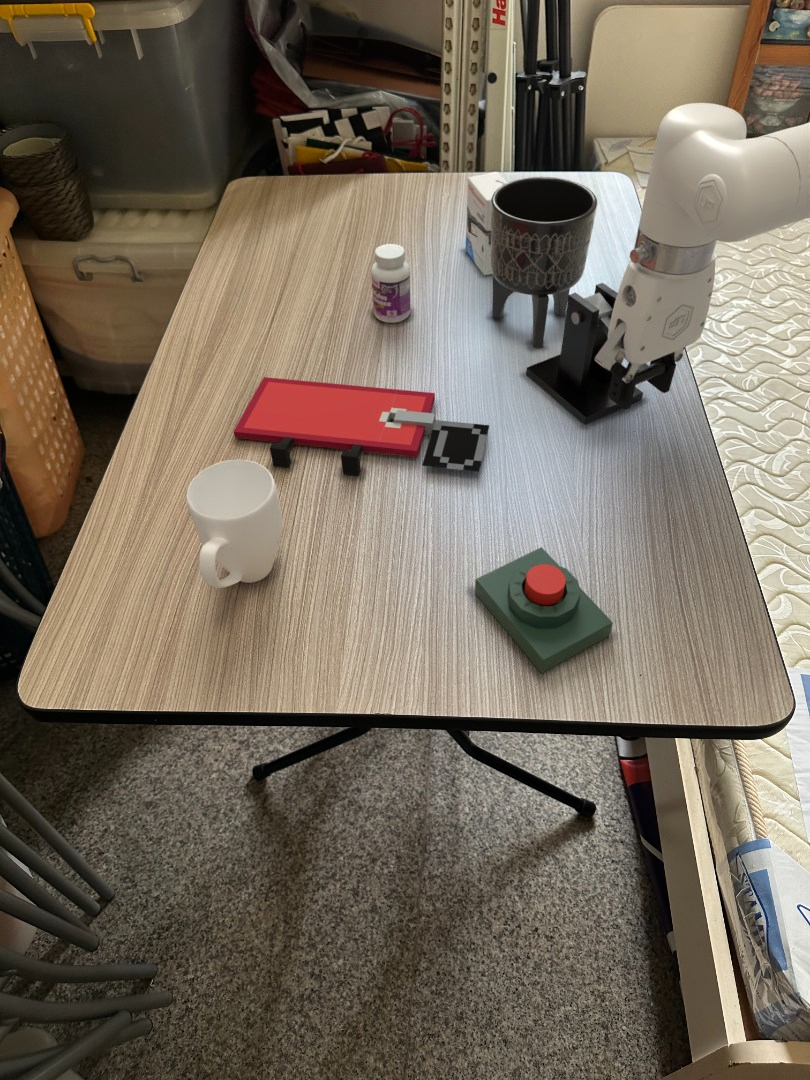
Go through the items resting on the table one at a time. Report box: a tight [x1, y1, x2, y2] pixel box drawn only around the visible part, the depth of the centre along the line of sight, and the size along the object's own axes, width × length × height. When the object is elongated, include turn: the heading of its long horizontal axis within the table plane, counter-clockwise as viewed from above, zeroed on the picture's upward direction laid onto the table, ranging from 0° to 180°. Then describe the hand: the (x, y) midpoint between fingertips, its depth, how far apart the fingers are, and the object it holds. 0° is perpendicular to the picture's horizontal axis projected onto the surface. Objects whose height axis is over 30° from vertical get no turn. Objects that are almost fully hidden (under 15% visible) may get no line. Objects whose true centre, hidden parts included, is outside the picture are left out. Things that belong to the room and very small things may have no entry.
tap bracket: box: [525, 282, 644, 426], centre depth 95 cm, size 12×9×13 cm
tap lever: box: [584, 293, 667, 386], centre depth 90 cm, size 12×5×2 cm, turn 30°
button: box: [525, 564, 566, 606], centre depth 73 cm, size 4×4×2 cm
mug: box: [186, 459, 283, 589], centre depth 76 cm, size 12×8×11 cm
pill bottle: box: [370, 243, 411, 324], centre depth 109 cm, size 5×5×10 cm
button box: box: [474, 547, 614, 674], centre depth 75 cm, size 11×8×4 cm
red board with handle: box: [233, 376, 490, 477], centre depth 94 cm, size 30×3×15 cm
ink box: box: [465, 171, 509, 276], centre depth 117 cm, size 8×5×12 cm, turn 17°
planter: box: [491, 176, 598, 349], centre depth 103 cm, size 13×13×18 cm
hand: (638, 393), depth 90 cm, fingers closed on tap lever, 5 cm apart
